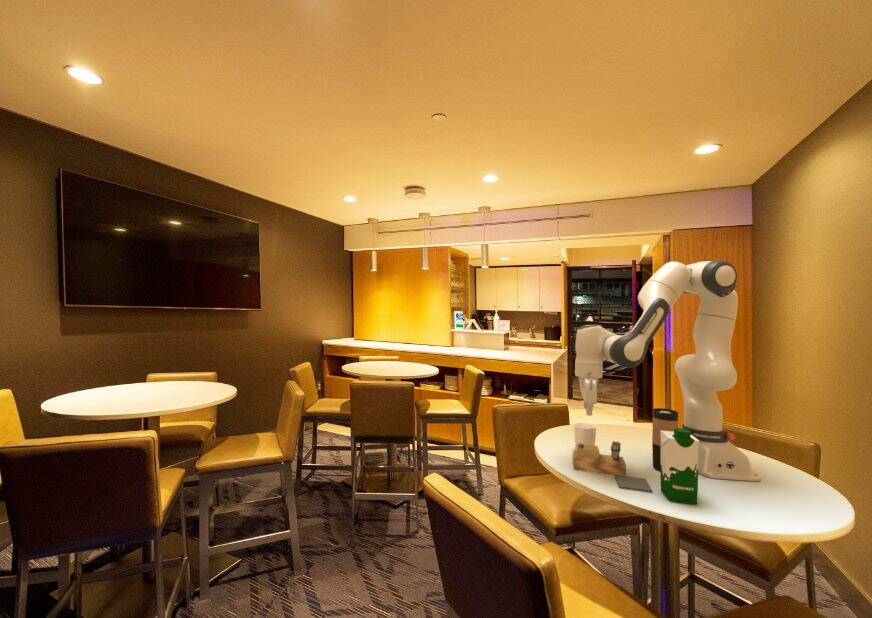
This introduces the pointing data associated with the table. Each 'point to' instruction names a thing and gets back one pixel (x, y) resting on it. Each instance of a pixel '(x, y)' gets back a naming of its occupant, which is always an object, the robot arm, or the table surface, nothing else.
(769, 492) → the table surface
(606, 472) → the plane body
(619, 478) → the rubber mat
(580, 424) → the white cup
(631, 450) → the table surface
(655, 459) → the travel mug
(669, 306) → the robot arm
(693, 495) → the milk carton
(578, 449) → the gold block with knob
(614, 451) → the lever
